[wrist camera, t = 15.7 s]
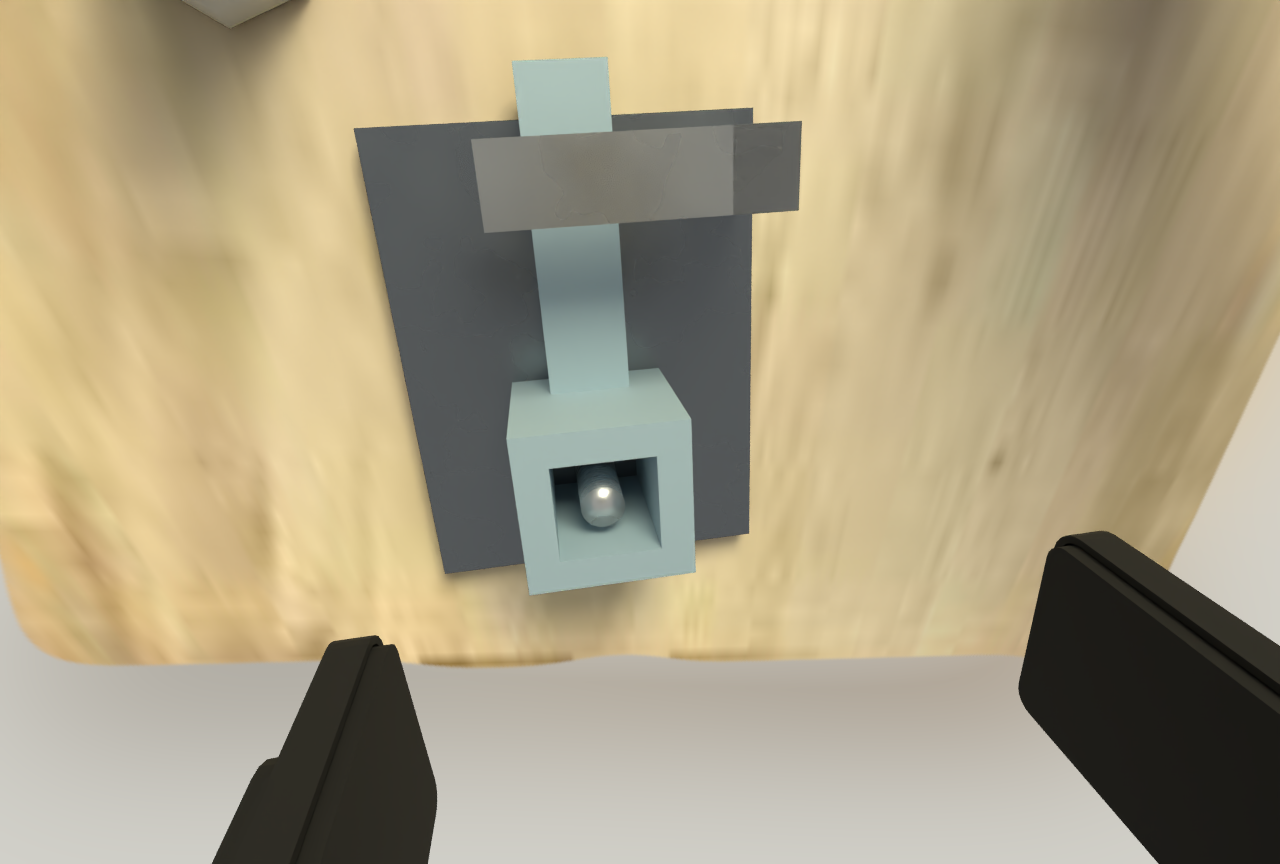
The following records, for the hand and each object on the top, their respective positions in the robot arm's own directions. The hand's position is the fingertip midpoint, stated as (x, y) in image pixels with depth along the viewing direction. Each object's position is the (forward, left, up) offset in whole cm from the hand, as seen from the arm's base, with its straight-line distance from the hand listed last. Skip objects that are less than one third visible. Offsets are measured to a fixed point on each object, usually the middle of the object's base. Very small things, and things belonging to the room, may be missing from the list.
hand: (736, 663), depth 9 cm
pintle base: (+1, +1, -20) cm, 20 cm away
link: (+1, -1, -18) cm, 18 cm away
